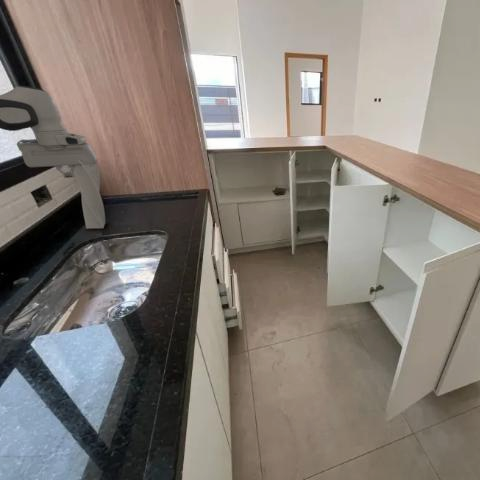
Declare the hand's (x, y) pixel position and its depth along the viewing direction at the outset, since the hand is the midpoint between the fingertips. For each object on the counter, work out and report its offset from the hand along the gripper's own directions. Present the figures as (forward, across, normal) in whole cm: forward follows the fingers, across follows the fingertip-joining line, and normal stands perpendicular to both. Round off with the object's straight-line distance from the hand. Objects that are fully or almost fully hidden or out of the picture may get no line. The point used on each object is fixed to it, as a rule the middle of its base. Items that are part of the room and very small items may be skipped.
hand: (69, 177), depth 101 cm
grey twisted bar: (+21, +2, 0) cm, 21 cm away
